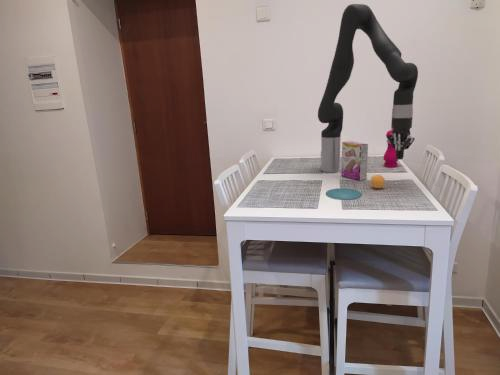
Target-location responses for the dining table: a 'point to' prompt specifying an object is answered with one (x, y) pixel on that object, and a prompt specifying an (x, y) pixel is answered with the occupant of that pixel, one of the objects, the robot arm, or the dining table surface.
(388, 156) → the pepper mill
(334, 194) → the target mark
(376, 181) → the ball
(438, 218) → the dining table surface
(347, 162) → the candy bar box
